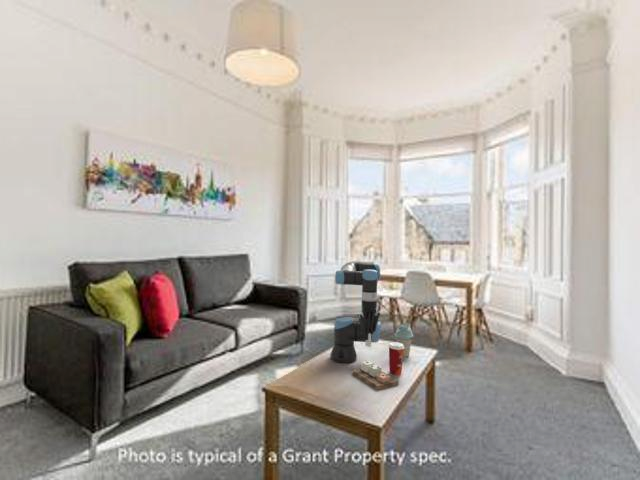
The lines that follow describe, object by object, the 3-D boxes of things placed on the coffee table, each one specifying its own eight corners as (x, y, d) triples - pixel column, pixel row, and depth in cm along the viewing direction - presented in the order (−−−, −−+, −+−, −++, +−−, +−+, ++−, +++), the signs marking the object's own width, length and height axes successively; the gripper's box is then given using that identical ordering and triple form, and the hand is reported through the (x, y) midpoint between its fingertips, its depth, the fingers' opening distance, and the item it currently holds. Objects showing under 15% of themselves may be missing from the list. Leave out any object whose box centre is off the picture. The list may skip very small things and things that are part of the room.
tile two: (368, 373, 175) (368, 365, 175) (375, 372, 177) (375, 364, 177) (374, 377, 171) (374, 368, 171) (381, 375, 173) (381, 367, 173)
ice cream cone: (395, 351, 217) (396, 319, 217) (413, 353, 213) (414, 321, 213) (392, 356, 208) (393, 322, 207) (412, 359, 204) (413, 325, 204)
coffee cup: (403, 376, 179) (404, 347, 178) (387, 374, 180) (388, 345, 180) (403, 370, 187) (404, 342, 187) (387, 368, 189) (388, 341, 188)
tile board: (352, 374, 180) (352, 370, 180) (372, 369, 186) (372, 366, 186) (377, 390, 162) (377, 385, 162) (398, 384, 169) (398, 380, 169)
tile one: (361, 369, 180) (361, 361, 180) (368, 368, 183) (368, 360, 183) (366, 372, 177) (366, 364, 177) (373, 371, 179) (373, 363, 179)
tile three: (376, 382, 170) (376, 374, 170) (383, 381, 172) (383, 372, 172) (382, 386, 166) (382, 377, 166) (389, 384, 168) (389, 375, 168)
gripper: (363, 302, 172) (362, 349, 173) (384, 300, 179) (382, 346, 179) (354, 299, 179) (353, 345, 179) (374, 297, 185) (373, 342, 186)
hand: (368, 345), depth 179 cm, fingers closed
